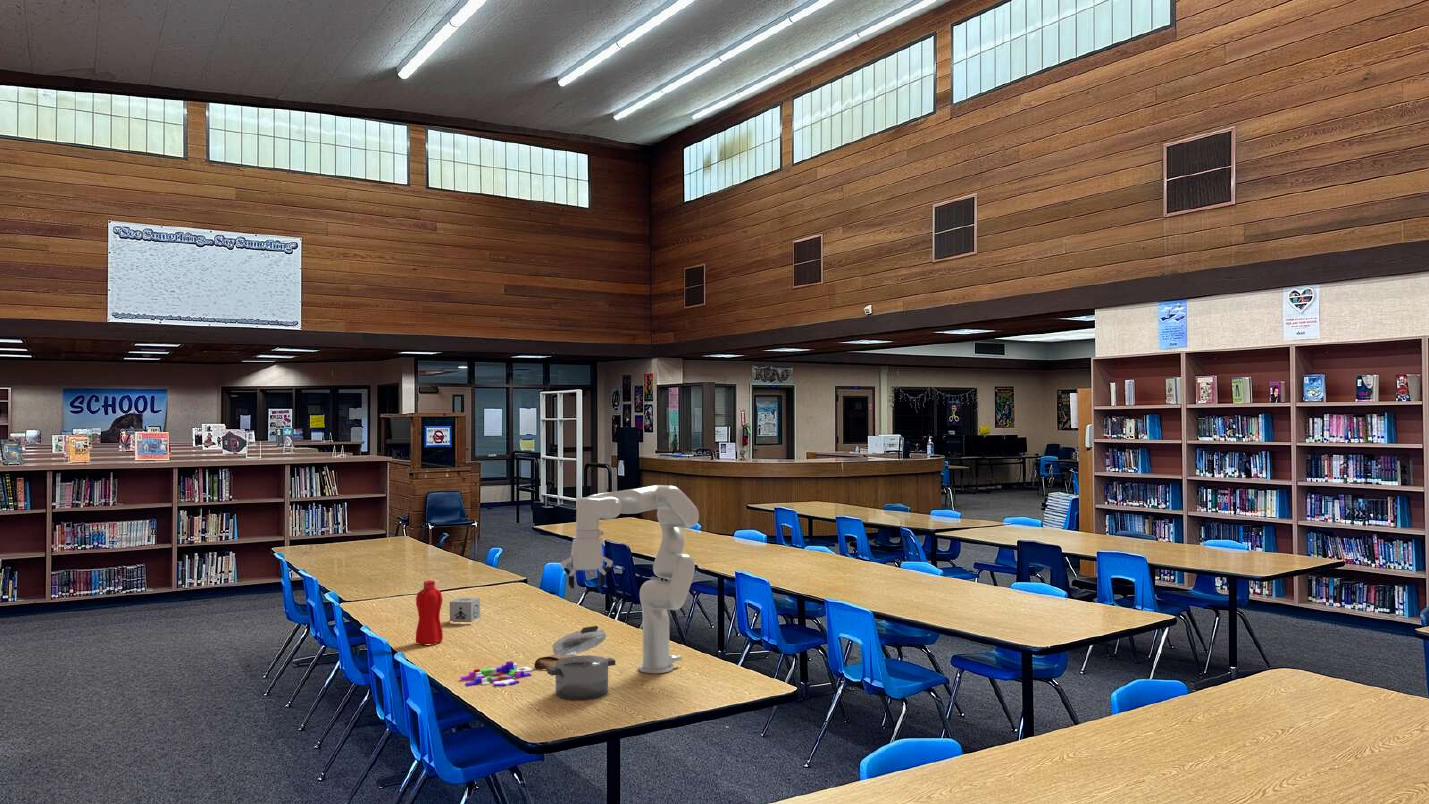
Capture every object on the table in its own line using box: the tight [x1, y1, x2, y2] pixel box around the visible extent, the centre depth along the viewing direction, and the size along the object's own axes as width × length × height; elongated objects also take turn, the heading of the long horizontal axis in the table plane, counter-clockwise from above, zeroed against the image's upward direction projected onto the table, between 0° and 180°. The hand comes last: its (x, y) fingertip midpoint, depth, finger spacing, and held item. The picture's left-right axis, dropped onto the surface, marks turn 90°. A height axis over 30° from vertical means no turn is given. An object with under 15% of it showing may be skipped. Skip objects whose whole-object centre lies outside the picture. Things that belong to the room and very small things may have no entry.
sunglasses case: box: [534, 653, 576, 670], centre depth 330 cm, size 18×7×7 cm
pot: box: [546, 654, 616, 702], centre depth 295 cm, size 23×18×10 cm
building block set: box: [459, 660, 533, 687], centre depth 312 cm, size 25×20×4 cm
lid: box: [552, 625, 607, 655], centre depth 296 cm, size 18×20×3 cm
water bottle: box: [415, 580, 444, 645], centre depth 363 cm, size 9×11×25 cm
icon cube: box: [449, 596, 481, 622], centre depth 403 cm, size 10×10×10 cm
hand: (586, 587), depth 297 cm, fingers open, 9 cm apart
